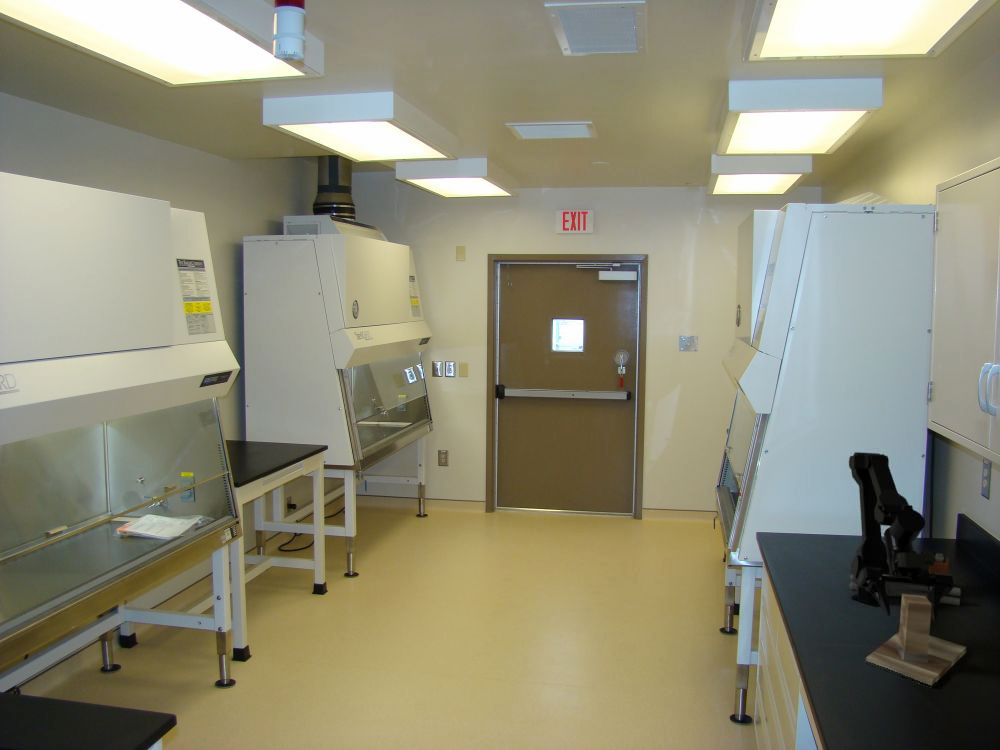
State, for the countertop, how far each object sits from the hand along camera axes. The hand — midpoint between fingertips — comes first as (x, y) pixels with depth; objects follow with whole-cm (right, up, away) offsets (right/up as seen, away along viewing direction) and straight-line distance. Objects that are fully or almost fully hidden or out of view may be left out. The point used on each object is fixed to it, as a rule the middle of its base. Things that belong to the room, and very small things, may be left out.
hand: (911, 617), depth 165 cm
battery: (+28, -6, +39) cm, 48 cm away
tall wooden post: (-1, -8, -1) cm, 8 cm away
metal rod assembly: (+17, -6, +35) cm, 39 cm away
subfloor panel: (+2, -9, +1) cm, 9 cm away
